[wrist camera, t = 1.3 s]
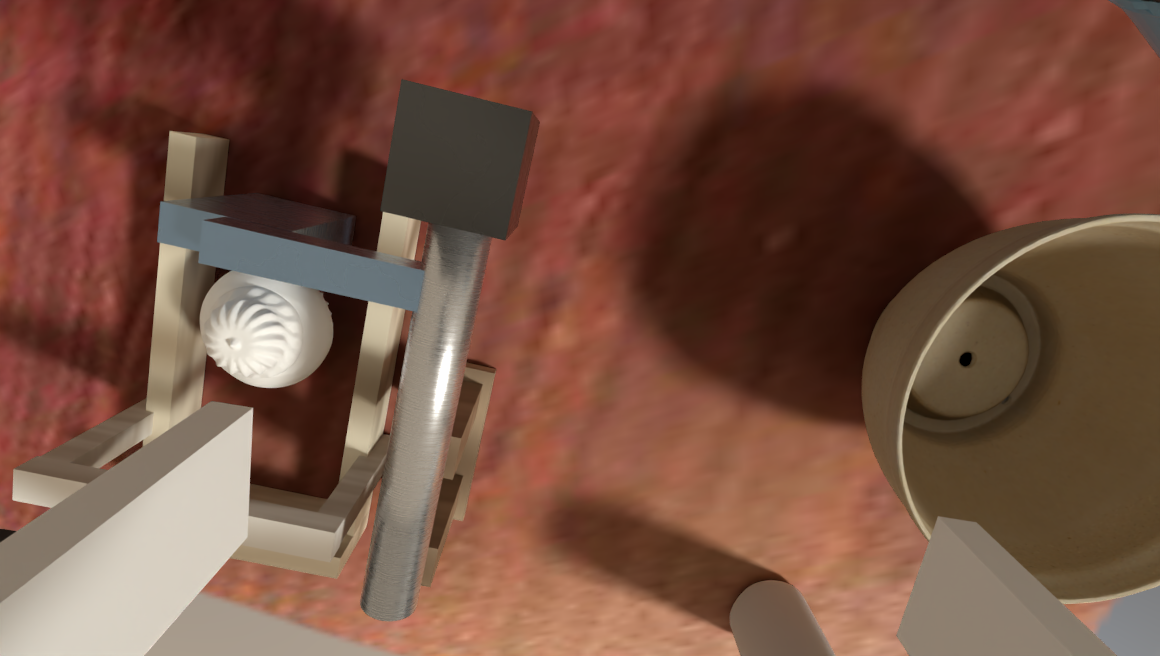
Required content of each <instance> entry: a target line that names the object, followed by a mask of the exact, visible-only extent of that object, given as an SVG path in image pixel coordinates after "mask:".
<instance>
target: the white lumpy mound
mask: <svg viewBox="0 0 1160 656" xmlns="http://www.w3.org/2000/svg"><path fill="white" fill-rule="evenodd" d="M328 304H329V303H328V302H326V301H325V300H324V298H323V293H321V292H319V291H318V290H316V289H312V288H308V287H303V286H299V285H294V284H290V283H285V282H281V281H276V280H272V279H267V278H263V277H259V276H254V275H250V274H245V273H241V272H236V271H230V272H228V273H227V274H225V275H224V276H223V277H221V278H220V279H219V280H218V281H217V282H216V283H215V284H214V285H213V286H212V287H211V289H210V290H209V292H208V293H207V295H206V297H205V299H204V301H203V304H202V307H201V312H200V330H201V335H202V339H203V342H204V344H205V347H206V349H207V354H208V355H209V356H210V357H212V358H213V359H214V360H215V361H216V365H217V366H218V367H222V368H223V369H224V370H225V371H226V372H228V373H229V374H230V375H232V376H233V377H235V378H236V379H238V380H240V381H242V382H244V383H246V384H249V385H252V386H256V387H262V388H280V387H285V386H289V385H293V384H296V383H298V382H300V381H302V380H304V379H305V378H307V377H308V376H310V375H311V374H312V373H313V372H314V371H315V370H316V369H317V368H318V367H319V366H320V365H321V363H322V362H323V360H324V359H325V357H326V356H327V354H328V352H329V350H330V347H331V344H332V340H333V322H332V318H331V315H332V313H331V312H330V311H329V309H328Z"/></svg>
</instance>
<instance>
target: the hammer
mask: <svg viewBox="0 0 1160 656" xmlns="http://www.w3.org/2000/svg"><path fill="white" fill-rule="evenodd" d="M539 124H540V122H539V120H538V119H537V118H536V116H535V115H534V113H533V112H531V111H527V110H523V109H519V108H515V107H511V106H507V105H503V104H499V103H495V102H491V101H487V100H483V99H479V98H475V97H471V96H467V95H463V94H459V93H455V92H451V91H447V90H443V89H439V88H435V87H431V86H427V85H423V84H419V83H415V82H411V81H407V80H403V79H402V80H401V86H400V92H399V98H398V105H397V111H396V117H395V123H394V129H393V135H392V141H391V148H390V154H389V160H388V166H387V172H386V178H385V184H384V191H383V197H382V203H381V209H380V211H382V212H386V213H391V214H395V215H399V216H403V217H408V218H412V219H416V220H420V221H425V222H429V223H428V228H427V234H426V239H425V245H424V250H423V256H422V261H421V262H420V261H416V260H411V259H407V258H403V257H398V256H394V255H390V254H385V253H381V252H377V251H372V250H368V249H364V248H359V247H355V246H352V241H353V234H354V228H355V222H356V216H354V215H350V214H346V213H342V212H337V211H333V210H329V209H324V208H320V207H316V206H312V205H307V204H303V203H299V202H294V201H290V200H286V199H282V198H277V197H273V196H269V195H264V194H260V193H249V194H237V195H226V196H215V197H204V198H192V199H181V200H170V201H161V202H160V213H159V225H158V237H157V242H159V243H164V244H168V245H173V246H177V247H181V248H186V249H190V250H195V251H199V260H198V263H201V264H205V265H210V266H214V267H218V268H223V269H227V270H232V271H236V272H241V273H245V274H250V275H254V276H259V277H263V278H267V279H272V280H276V281H281V282H285V283H290V284H294V285H299V286H303V287H308V288H312V289H316V290H321V291H325V292H330V293H334V294H339V295H343V296H348V297H352V298H357V299H361V300H365V301H370V302H374V303H379V304H383V305H388V306H392V307H397V308H401V309H406V310H410V311H412V317H411V322H410V328H409V333H408V339H407V344H406V350H405V356H404V361H403V367H402V372H401V378H400V383H399V389H398V394H397V400H396V405H395V411H394V416H393V422H392V427H391V433H390V439H389V444H388V450H387V455H386V461H385V466H384V472H383V477H382V483H381V488H380V494H379V499H378V505H377V510H376V516H375V521H374V527H373V533H372V538H371V544H370V549H369V555H368V560H367V566H366V571H365V577H364V582H363V588H362V593H361V599H360V605H361V608H362V610H363V611H364V612H365V613H366V614H367V615H369V616H370V617H372V618H374V619H377V620H381V621H397V620H401V619H404V618H406V617H408V616H410V615H411V614H412V613H413V612H414V611H415V609H416V606H417V602H418V597H419V592H420V587H421V582H422V577H423V572H424V568H425V563H426V558H427V553H428V548H429V543H430V538H431V533H432V528H433V524H434V519H435V514H436V509H437V504H438V499H439V494H440V489H441V484H442V480H443V475H444V470H445V465H446V460H447V455H448V450H449V445H450V440H451V436H452V431H453V426H454V421H455V416H456V411H457V406H458V401H459V396H460V392H461V387H462V382H463V377H464V372H465V367H466V362H467V357H468V352H469V348H470V343H471V338H472V333H473V328H474V323H475V318H476V313H477V308H478V303H479V299H480V294H481V289H482V284H483V279H484V274H485V269H486V264H487V259H488V255H489V250H490V245H491V240H492V237H493V238H497V239H502V240H506V239H507V238H508V237H509V236H510V234H511V233H512V232H513V231H514V230H515V229H516V228H517V226H518V222H519V217H520V213H521V208H522V203H523V199H524V194H525V189H526V185H527V180H528V175H529V170H530V166H531V161H532V156H533V152H534V147H535V142H536V138H537V133H538V128H539Z"/></svg>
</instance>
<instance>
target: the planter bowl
mask: <svg viewBox="0 0 1160 656" xmlns="http://www.w3.org/2000/svg"><path fill="white" fill-rule="evenodd" d="M967 352H969V353H971V355H972V361H971V363H970V364H969V365H968V366H962V365H961V364H960V362H959V359H960V356H961V355H962V354H963V353H967ZM862 405H863V413H864V419H865V425H866V429H867V433H868V436H869V440H870V443H871V446H872V449H873V452H874V454H875V457H876V459H877V461H878V463H879V465H880V467H881V469H882V471H883V473H884V475H885V477H886V478H887V480H888V482H889V484H890V485H891V487H892V488H893V490H894V491H895V493H896V494H897V496H898V497H899V499H900V500H901V502H902V503H903V504H904V506H905V507H906V509H907V511H908V513H909V515H910V516H911V518H912V520H913V521H914V523H915V524H916V526H917V527H918V529H919V530H920V531H921V533H922V534H923V535H924V537H925V538H926V539H927V540H928V541H930V538H931V535H932V532H933V529H934V526H935V524H936V521H937V518H938V516H940V517H946V518H952V519H959V520H965V521H971V522H977V523H978V524H979V525H980V526H981V527H982V528H983V529H984V530H985V531H986V532H987V533H988V534H989V535H990V536H991V537H992V538H993V539H995V540H996V541H997V542H998V543H999V544H1000V545H1001V546H1002V547H1003V548H1004V549H1005V550H1006V551H1007V552H1008V553H1009V554H1010V555H1011V556H1012V557H1014V558H1015V559H1016V560H1017V561H1018V562H1019V563H1020V564H1021V565H1022V566H1023V567H1024V568H1025V569H1026V570H1027V571H1028V572H1029V573H1030V574H1031V575H1033V576H1034V577H1035V578H1036V579H1037V580H1038V581H1039V582H1040V583H1041V584H1042V585H1043V586H1044V587H1045V588H1046V589H1047V590H1048V591H1049V592H1050V593H1052V594H1053V595H1054V596H1055V597H1056V598H1057V599H1058V600H1059V601H1060V602H1061V603H1062V604H1076V603H1091V602H1098V601H1105V600H1110V599H1115V598H1119V597H1124V596H1128V595H1132V594H1135V593H1138V592H1141V591H1145V590H1148V589H1151V588H1154V587H1156V586H1159V585H1160V215H1158V214H1112V215H1103V216H1097V217H1090V218H1073V219H1060V220H1051V221H1042V222H1037V223H1031V224H1026V225H1021V226H1017V227H1013V228H1009V229H1005V230H1002V231H998V232H995V233H992V234H989V235H986V236H984V237H981V238H978V239H976V240H973V241H971V242H969V243H967V244H965V245H963V246H961V247H959V248H957V249H955V250H953V251H951V252H950V253H948V254H946V255H945V256H943V257H941V258H940V259H938V260H937V261H935V262H933V263H932V264H930V265H929V266H928V267H927V268H925V269H924V270H923V271H921V272H920V273H919V274H918V275H916V276H915V277H914V278H913V279H912V280H911V281H910V282H909V283H908V284H907V285H906V286H905V287H904V288H903V289H902V290H901V291H900V292H899V293H898V294H897V295H896V297H895V298H894V299H893V300H892V301H891V302H890V303H889V304H888V305H887V307H886V308H885V309H884V311H883V312H882V314H881V316H880V317H879V319H878V321H877V323H876V325H875V327H874V330H873V332H872V335H871V338H870V342H869V345H868V348H867V352H866V355H865V359H864V365H863V372H862Z"/></svg>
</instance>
